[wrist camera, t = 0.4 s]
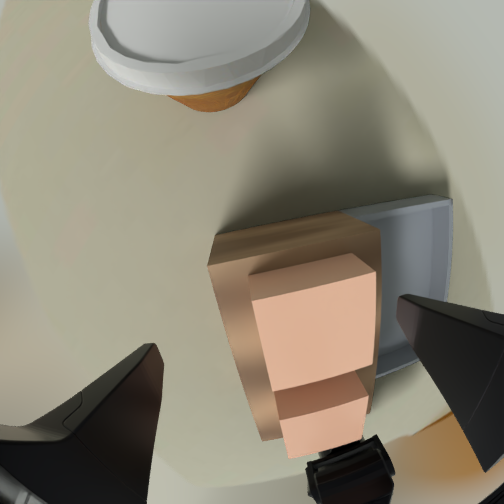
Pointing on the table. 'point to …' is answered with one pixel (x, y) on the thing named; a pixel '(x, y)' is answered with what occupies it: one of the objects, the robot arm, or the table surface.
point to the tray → (409, 264)
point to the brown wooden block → (272, 258)
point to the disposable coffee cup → (195, 45)
